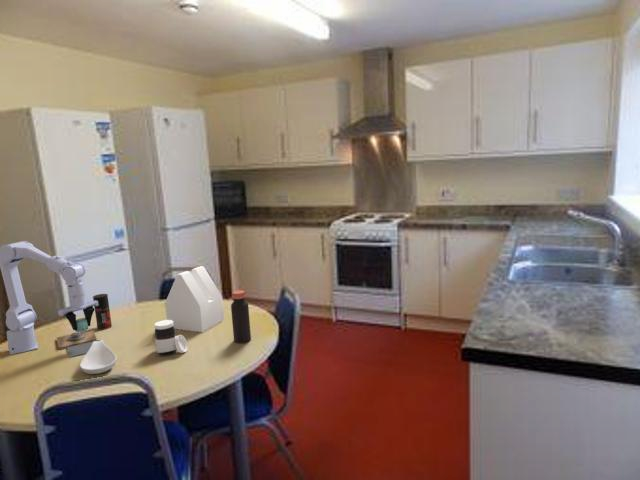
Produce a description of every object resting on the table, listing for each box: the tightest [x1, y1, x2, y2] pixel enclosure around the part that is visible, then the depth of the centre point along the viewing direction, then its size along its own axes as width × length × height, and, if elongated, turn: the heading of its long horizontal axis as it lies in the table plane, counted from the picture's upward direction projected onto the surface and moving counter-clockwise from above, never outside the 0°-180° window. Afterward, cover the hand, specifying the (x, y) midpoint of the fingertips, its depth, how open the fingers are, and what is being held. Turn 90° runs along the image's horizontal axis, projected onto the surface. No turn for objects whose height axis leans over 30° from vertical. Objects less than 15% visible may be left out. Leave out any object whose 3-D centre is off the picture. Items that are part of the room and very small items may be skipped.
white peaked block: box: [164, 265, 225, 333], centre depth 200 cm, size 19×15×25 cm
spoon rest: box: [79, 339, 118, 375], centre depth 164 cm, size 24×12×7 cm, turn 26°
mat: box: [66, 339, 100, 359], centre depth 180 cm, size 12×12×1 cm
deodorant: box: [92, 293, 113, 331], centre depth 203 cm, size 6×6×15 cm
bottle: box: [230, 289, 252, 344], centre depth 178 cm, size 7×7×20 cm
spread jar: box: [153, 319, 188, 356], centre depth 172 cm, size 12×11×12 cm
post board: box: [56, 329, 98, 351], centre depth 189 cm, size 14×14×3 cm
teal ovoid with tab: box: [75, 317, 89, 333], centre depth 178 cm, size 6×5×4 cm
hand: (81, 327), depth 178 cm, fingers closed on teal ovoid with tab, 5 cm apart
